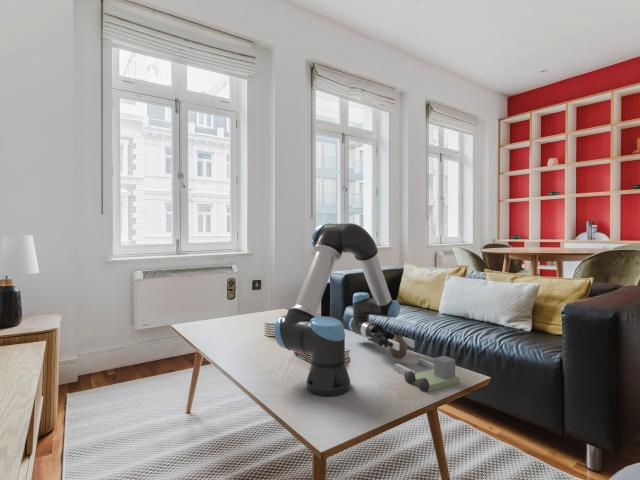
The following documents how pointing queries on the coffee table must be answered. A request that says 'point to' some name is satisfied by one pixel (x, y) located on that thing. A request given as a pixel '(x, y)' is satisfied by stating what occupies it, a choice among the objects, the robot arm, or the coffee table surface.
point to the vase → (403, 348)
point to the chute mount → (415, 367)
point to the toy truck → (435, 375)
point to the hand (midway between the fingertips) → (406, 345)
